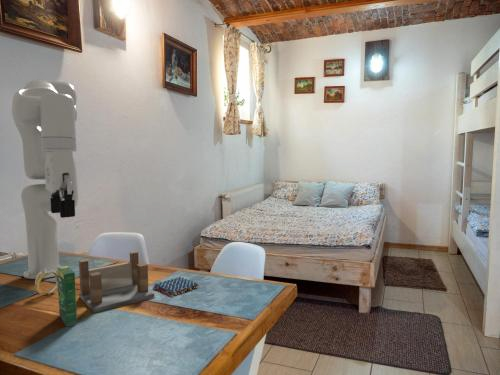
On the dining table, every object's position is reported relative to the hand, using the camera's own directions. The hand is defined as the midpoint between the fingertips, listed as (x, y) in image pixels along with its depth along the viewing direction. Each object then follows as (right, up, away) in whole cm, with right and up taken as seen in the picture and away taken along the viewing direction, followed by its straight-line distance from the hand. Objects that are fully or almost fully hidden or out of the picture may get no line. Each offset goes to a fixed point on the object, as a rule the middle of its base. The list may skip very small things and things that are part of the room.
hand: (62, 214), depth 94 cm
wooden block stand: (+7, -26, +17) cm, 32 cm away
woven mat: (+23, -26, +25) cm, 42 cm away
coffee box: (0, -27, +2) cm, 27 cm away
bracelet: (-14, -26, +20) cm, 35 cm away
